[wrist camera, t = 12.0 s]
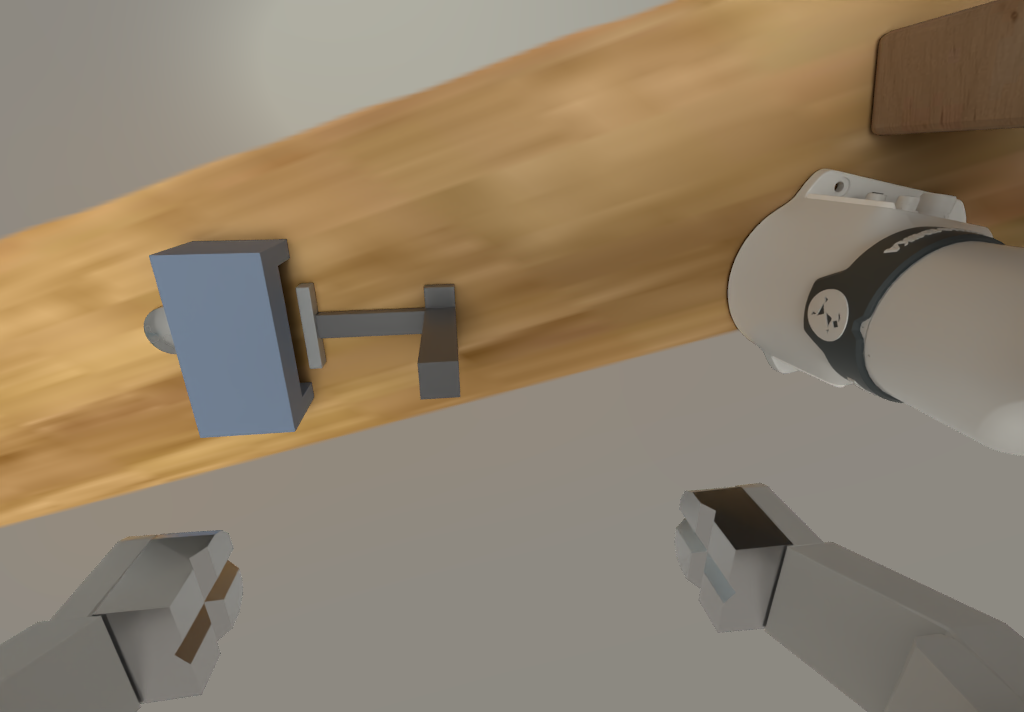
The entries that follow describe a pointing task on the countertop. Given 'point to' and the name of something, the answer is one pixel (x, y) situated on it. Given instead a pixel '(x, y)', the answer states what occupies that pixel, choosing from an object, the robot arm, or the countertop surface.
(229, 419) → the blue-grey bridge block
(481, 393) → the countertop surface
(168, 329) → the steel token
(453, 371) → the scraper
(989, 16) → the decorative block
